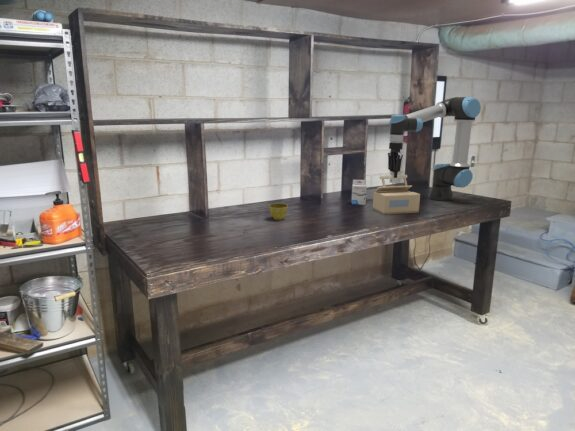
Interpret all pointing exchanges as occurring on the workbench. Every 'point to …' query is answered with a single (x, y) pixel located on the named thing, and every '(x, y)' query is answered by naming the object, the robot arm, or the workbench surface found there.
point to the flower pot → (278, 211)
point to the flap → (393, 188)
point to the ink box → (359, 192)
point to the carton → (396, 202)
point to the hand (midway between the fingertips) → (393, 182)
